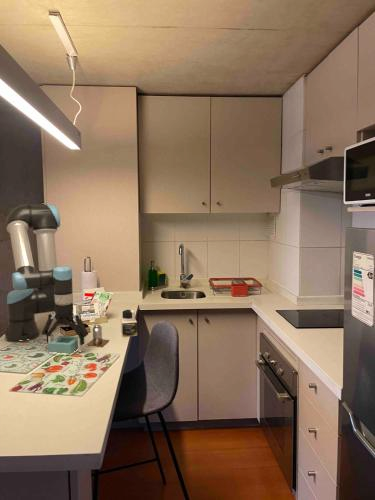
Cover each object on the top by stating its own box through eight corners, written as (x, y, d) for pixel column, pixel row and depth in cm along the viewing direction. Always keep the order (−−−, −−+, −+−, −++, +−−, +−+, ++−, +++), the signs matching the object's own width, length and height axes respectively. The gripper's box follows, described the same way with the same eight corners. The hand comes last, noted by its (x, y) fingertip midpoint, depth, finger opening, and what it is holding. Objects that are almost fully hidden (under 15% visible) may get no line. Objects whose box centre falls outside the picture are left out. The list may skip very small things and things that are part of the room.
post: (85, 346, 167) (85, 327, 166) (93, 340, 174) (92, 322, 174) (102, 347, 165) (101, 328, 164) (109, 341, 173) (108, 323, 172)
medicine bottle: (122, 337, 178) (121, 312, 177) (121, 332, 185) (120, 309, 184) (137, 335, 180) (136, 311, 179) (135, 331, 187) (134, 308, 186)
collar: (48, 354, 157) (48, 343, 156) (60, 346, 167) (60, 335, 166) (70, 356, 155) (70, 344, 154) (81, 347, 165) (81, 336, 164)
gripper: (32, 304, 157) (34, 352, 159) (87, 306, 153) (89, 355, 155) (42, 300, 164) (44, 346, 166) (95, 302, 160) (96, 349, 162)
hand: (65, 351), depth 161 cm, fingers open, 13 cm apart
